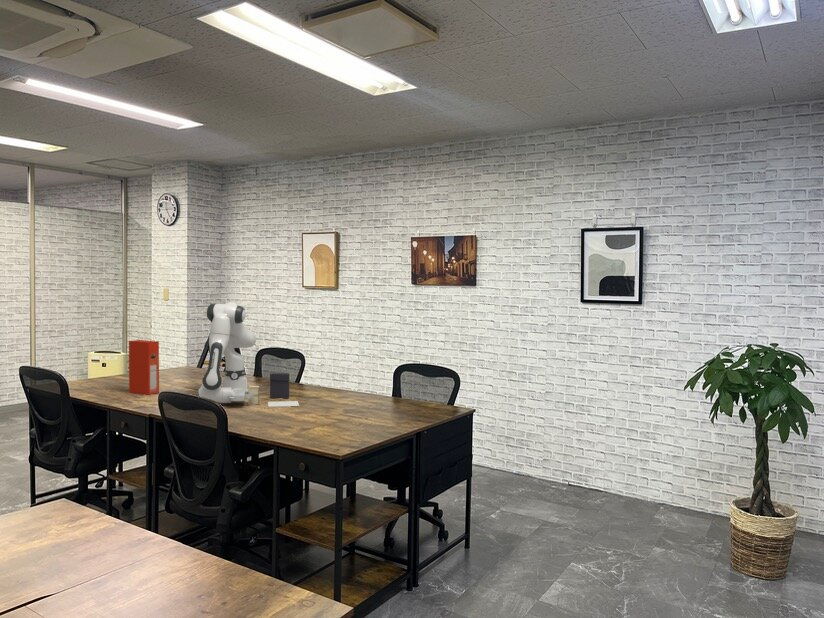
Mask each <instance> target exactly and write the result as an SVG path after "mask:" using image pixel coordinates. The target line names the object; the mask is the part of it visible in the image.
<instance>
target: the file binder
mask: <svg viewBox="0 0 824 618" xmlns="http://www.w3.org/2000/svg"><path fill="white" fill-rule="evenodd" d="M159 349H160V342H159V341H154V340H145V339H144V340H143V339H136V340H134V339H133V340H128V383H129V384H128V391H129V393H130V394H136V393H138V395H143V394H145V395H144V396H152V395H151V394H153V395H157V394H156V393H158V394H160V350H159Z"/></svg>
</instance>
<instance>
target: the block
mask: <svg viewBox="0 0 824 618" xmlns="http://www.w3.org/2000/svg"><path fill="white" fill-rule="evenodd" d="M247 388H248V394H253V397H252V398H247V405H248V406H256V405H255V404H259V405H260V385H249V386H248V385H247Z"/></svg>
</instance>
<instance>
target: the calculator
mask: <svg viewBox="0 0 824 618" xmlns="http://www.w3.org/2000/svg"><path fill="white" fill-rule="evenodd" d="M269 384H270V385H269V387H270V388H269V399H275V398H283V399H282V400H288V399H290V372H289V373H288V372H287V373H286V372H281V373H280V372H271V373H270V374H269Z"/></svg>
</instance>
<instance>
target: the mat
mask: <svg viewBox="0 0 824 618" xmlns="http://www.w3.org/2000/svg"><path fill="white" fill-rule="evenodd" d="M291 406H299V407H300V403H299V401H298V400H285V401H283V400H281V401H280V400H279V401H267V407H268V408H291Z"/></svg>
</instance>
